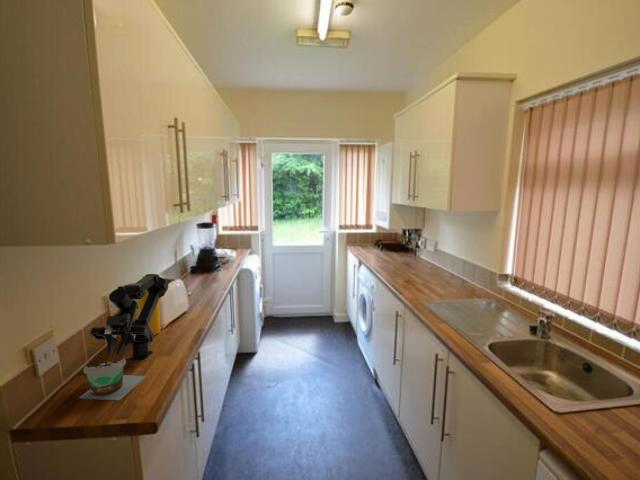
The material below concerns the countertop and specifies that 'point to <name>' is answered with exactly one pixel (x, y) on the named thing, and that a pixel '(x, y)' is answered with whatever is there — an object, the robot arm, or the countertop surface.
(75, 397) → the countertop surface
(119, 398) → the slate mat
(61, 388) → the countertop surface
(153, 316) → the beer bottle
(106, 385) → the food container
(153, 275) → the robot arm
